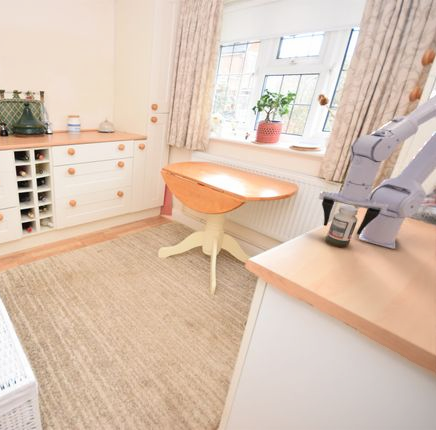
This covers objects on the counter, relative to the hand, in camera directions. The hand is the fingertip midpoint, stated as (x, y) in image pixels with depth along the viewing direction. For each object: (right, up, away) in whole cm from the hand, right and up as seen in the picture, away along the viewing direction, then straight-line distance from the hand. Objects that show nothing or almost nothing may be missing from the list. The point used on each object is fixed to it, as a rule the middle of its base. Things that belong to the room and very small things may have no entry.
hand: (341, 228), depth 82 cm
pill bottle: (0, -3, +1) cm, 3 cm away
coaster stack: (0, -4, +2) cm, 5 cm away
